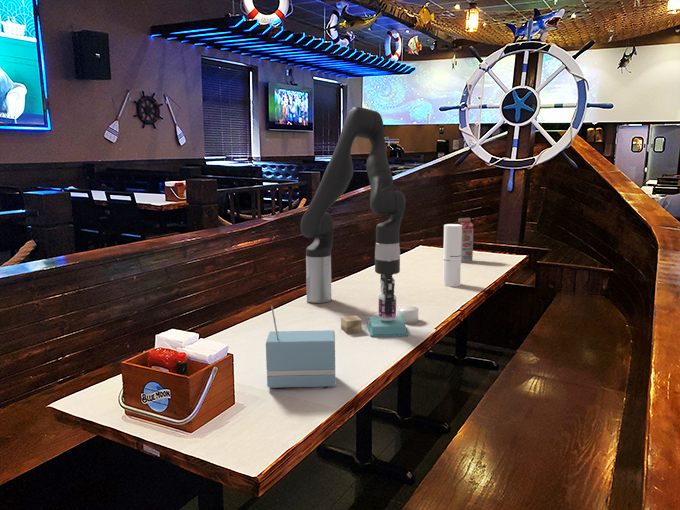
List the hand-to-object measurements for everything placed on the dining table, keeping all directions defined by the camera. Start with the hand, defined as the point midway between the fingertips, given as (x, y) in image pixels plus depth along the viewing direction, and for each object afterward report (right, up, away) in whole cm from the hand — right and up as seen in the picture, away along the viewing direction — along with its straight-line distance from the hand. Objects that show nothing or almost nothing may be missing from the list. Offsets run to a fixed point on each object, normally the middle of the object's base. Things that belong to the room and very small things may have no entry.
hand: (387, 310), depth 165 cm
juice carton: (+48, +14, +107) cm, 118 cm away
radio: (-24, -14, -36) cm, 45 cm away
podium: (0, -6, +1) cm, 6 cm away
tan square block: (-11, -6, +2) cm, 13 cm away
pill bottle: (0, -3, +1) cm, 3 cm away
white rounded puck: (+8, -4, +11) cm, 14 cm away
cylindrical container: (+32, +5, +58) cm, 67 cm away
